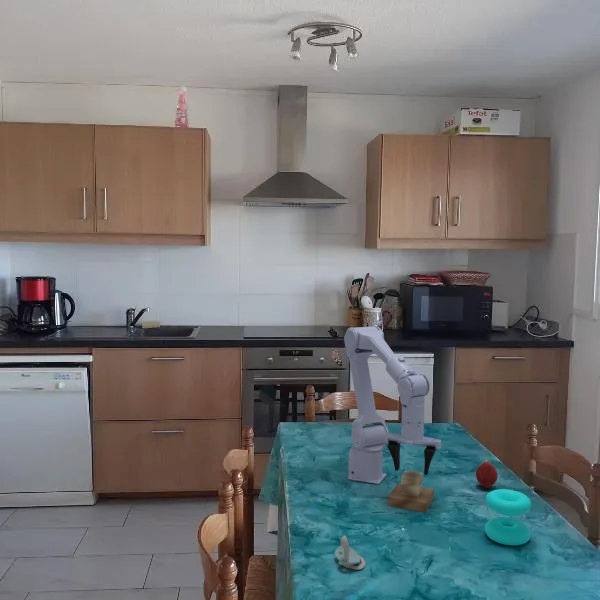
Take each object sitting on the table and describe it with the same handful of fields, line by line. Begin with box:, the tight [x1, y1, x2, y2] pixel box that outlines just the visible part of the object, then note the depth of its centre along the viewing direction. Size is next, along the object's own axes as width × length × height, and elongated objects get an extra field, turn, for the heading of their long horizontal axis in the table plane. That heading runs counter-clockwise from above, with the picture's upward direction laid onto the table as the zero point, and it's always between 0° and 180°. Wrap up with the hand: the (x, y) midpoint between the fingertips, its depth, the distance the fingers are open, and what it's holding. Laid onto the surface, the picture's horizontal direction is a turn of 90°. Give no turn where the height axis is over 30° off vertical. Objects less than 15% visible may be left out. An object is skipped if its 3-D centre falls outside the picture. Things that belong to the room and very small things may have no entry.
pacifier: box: [334, 535, 366, 571], centre depth 130 cm, size 7×6×6 cm
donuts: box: [484, 488, 532, 546], centre depth 142 cm, size 10×10×10 cm
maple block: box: [400, 470, 423, 497], centre depth 162 cm, size 4×4×5 cm
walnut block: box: [387, 483, 435, 513], centre depth 163 cm, size 10×10×3 cm
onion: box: [475, 459, 499, 489], centre depth 172 cm, size 6×6×8 cm
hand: (411, 471), depth 162 cm, fingers open, 7 cm apart
